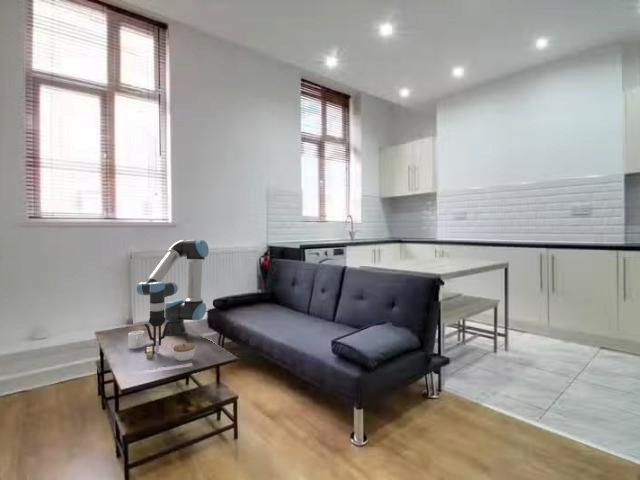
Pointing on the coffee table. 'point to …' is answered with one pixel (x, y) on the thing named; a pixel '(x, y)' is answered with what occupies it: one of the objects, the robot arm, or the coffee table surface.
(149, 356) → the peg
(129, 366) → the coffee table surface
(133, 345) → the mug
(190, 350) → the lidded jar
